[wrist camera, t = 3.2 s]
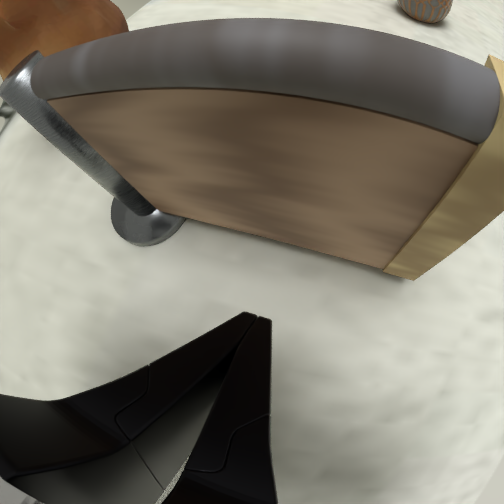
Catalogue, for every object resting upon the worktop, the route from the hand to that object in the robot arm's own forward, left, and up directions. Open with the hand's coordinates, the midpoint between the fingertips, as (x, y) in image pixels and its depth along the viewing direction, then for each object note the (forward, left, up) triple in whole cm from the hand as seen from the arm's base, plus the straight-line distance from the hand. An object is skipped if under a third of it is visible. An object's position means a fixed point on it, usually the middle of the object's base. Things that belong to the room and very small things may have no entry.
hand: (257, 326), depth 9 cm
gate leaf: (+2, +5, -6) cm, 9 cm away
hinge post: (-6, +11, -8) cm, 15 cm away
